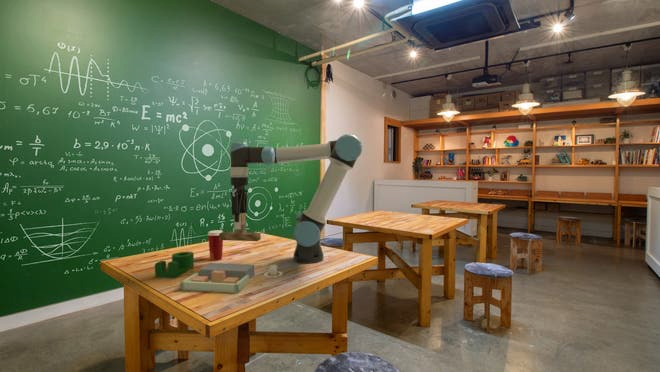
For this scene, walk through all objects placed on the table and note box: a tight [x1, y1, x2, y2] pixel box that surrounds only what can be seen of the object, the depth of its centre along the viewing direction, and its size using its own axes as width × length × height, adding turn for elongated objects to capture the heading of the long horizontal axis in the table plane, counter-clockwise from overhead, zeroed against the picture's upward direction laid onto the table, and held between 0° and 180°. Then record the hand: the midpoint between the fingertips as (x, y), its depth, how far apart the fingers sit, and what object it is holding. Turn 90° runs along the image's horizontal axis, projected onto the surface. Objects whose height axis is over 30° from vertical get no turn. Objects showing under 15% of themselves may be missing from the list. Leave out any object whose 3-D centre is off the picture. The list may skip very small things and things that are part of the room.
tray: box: [179, 272, 250, 294], centre depth 124 cm, size 22×11×3 cm, turn 82°
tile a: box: [222, 277, 239, 284], centre depth 123 cm, size 4×4×2 cm
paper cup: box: [206, 229, 224, 262], centre depth 161 cm, size 8×8×14 cm
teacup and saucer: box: [263, 264, 284, 278], centre depth 139 cm, size 9×8×4 cm
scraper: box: [219, 213, 262, 242], centre depth 146 cm, size 18×4×12 cm, turn 82°
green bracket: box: [154, 251, 195, 279], centre depth 143 cm, size 18×9×6 cm, turn 175°
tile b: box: [211, 270, 225, 283], centre depth 126 cm, size 4×4×2 cm
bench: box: [198, 262, 255, 281], centre depth 134 cm, size 20×9×4 cm, turn 83°
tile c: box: [191, 276, 208, 282], centre depth 124 cm, size 4×4×2 cm
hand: (239, 228), depth 146 cm, fingers closed on scraper, 4 cm apart
